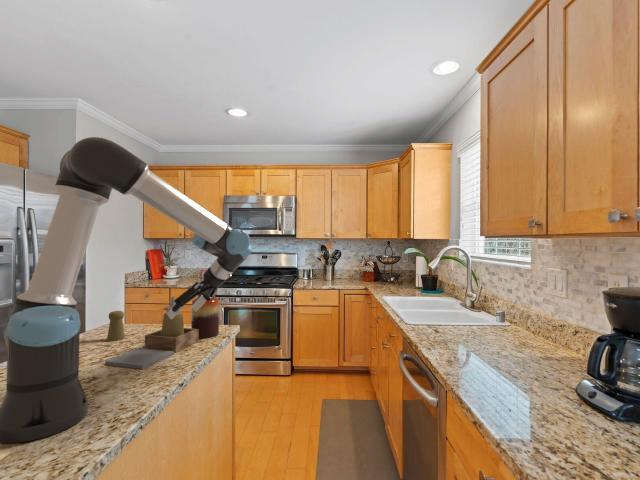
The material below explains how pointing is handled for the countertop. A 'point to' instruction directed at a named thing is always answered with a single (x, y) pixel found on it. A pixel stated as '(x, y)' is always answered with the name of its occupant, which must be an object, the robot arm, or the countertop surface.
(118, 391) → the countertop surface
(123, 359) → the slate mat
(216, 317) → the vase
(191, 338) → the bottle holder
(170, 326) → the squeeze bottle
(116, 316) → the cork
